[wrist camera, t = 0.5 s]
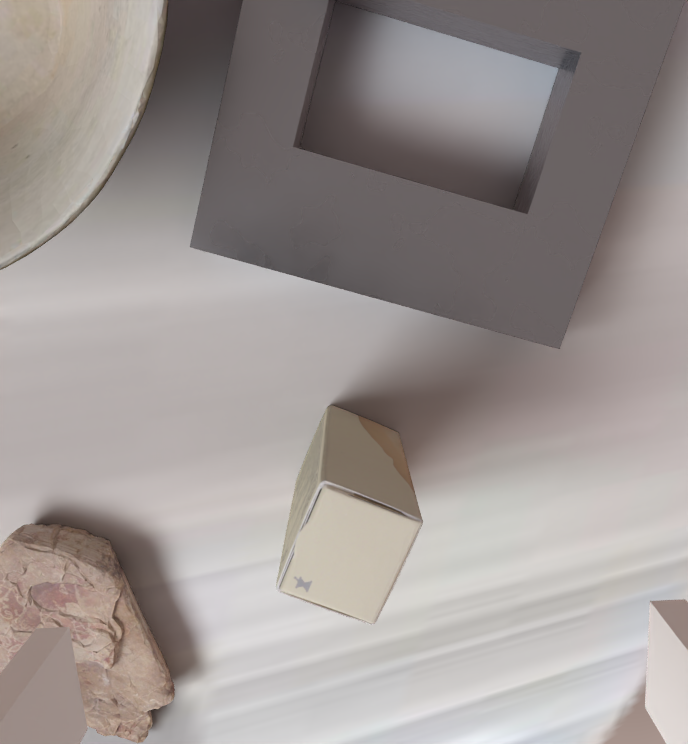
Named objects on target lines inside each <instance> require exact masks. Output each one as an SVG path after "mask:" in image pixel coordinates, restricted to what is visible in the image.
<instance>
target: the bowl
mask: <svg viewBox="0 0 688 744" xmlns="http://www.w3.org/2000/svg"><path fill="white" fill-rule="evenodd" d="M167 16H168V0H0V270H1V269H3V268H6V267H7V266H9V265H11V264H13V263H14V262H16V261H18V260H20V259H22V258H23V257H25V256H27V255H29V254H30V253H32V252H33V251H35V250H36V249H38V248H39V247H41V246H42V245H43V244H45V243H46V242H47V241H49V240H50V239H52V238H53V237H54V236H56V235H57V234H58V233H60V232H61V231H62V230H63V229H64V228H66V227H67V226H68V225H69V224H71V223H72V222H73V221H74V220H75V219H76V218H77V217H78V215H79V214H80V213H81V212H82V211H83V210H84V209H85V208H86V207H87V206H88V205H89V204H90V203H91V202H92V201H93V200H94V198H95V197H96V196H97V195H98V193H99V192H100V191H101V190H102V188H103V187H104V185H105V184H106V182H107V181H108V179H109V178H110V176H111V175H112V173H113V171H114V170H115V168H116V166H117V165H118V163H119V161H120V160H121V158H122V156H123V154H124V152H125V151H126V149H127V147H128V145H129V143H130V141H131V140H132V138H133V136H134V134H135V132H136V130H137V128H138V125H139V123H140V121H141V119H142V116H143V114H144V112H145V109H146V106H147V103H148V100H149V97H150V94H151V91H152V88H153V84H154V80H155V76H156V72H157V68H158V64H159V60H160V57H161V53H162V48H163V43H164V37H165V32H166V27H167Z"/></svg>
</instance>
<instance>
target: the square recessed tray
mask: <svg viewBox="0 0 688 744" xmlns="http://www.w3.org/2000/svg"><path fill="white" fill-rule="evenodd" d="M335 1H338V2H341V3H345V4H348V5H351V6H355V7H358V8H361V9H365V10H368V11H371V12H375V13H378V14H381V15H384V16H388V17H391V18H394V19H398V20H401V21H404V22H408V23H411V24H414V25H418V26H421V27H424V28H428V29H431V30H434V31H437V32H441V33H444V34H447V35H451V36H454V37H457V38H461V39H464V40H467V41H471V42H474V43H477V44H481V45H484V46H487V47H490V48H494V49H497V50H500V51H504V52H507V53H510V54H514V55H517V56H520V57H524V58H527V59H530V60H533V61H537V62H540V63H543V64H547V65H550V66H553V67H557V68H559V70H558V73H557V76H556V79H555V82H554V85H553V88H552V92H551V95H550V98H549V101H548V104H547V107H546V110H545V113H544V116H543V119H542V122H541V125H540V128H539V131H538V135H537V138H536V141H535V144H534V147H533V150H532V153H531V156H530V159H529V162H528V165H527V168H526V171H525V174H524V177H523V181H522V184H521V187H520V190H519V193H518V196H517V199H516V202H515V205H514V208H513V210H511V209H508V208H504V207H501V206H497V205H494V204H490V203H487V202H483V201H480V200H476V199H473V198H469V197H466V196H462V195H459V194H455V193H452V192H448V191H445V190H441V189H438V188H435V187H431V186H428V185H424V184H421V183H417V182H414V181H410V180H407V179H403V178H400V177H396V176H393V175H389V174H386V173H382V172H379V171H375V170H372V169H368V168H365V167H362V166H358V165H355V164H351V163H348V162H344V161H341V160H337V159H334V158H330V157H327V156H323V155H320V154H316V153H313V152H309V151H306V150H302V149H299V147H300V143H301V139H302V135H303V131H304V127H305V123H306V119H307V115H308V111H309V107H310V103H311V98H312V94H313V90H314V86H315V82H316V78H317V74H318V70H319V66H320V62H321V58H322V54H323V50H324V45H325V41H326V37H327V33H328V29H329V25H330V21H331V17H332V13H333V9H334V5H335ZM684 1H685V0H243V2H242V7H241V11H240V16H239V21H238V25H237V30H236V35H235V39H234V44H233V49H232V53H231V58H230V63H229V67H228V72H227V77H226V81H225V86H224V90H223V95H222V100H221V104H220V109H219V114H218V118H217V123H216V128H215V132H214V137H213V142H212V146H211V151H210V156H209V160H208V165H207V170H206V174H205V179H204V184H203V188H202V193H201V197H200V202H199V207H198V211H197V216H196V221H195V225H194V230H193V235H192V239H191V244H190V247H192V248H195V249H199V250H203V251H206V252H210V253H213V254H217V255H221V256H224V257H228V258H232V259H235V260H239V261H242V262H246V263H250V264H253V265H257V266H261V267H264V268H268V269H271V270H275V271H279V272H282V273H286V274H289V275H293V276H297V277H300V278H304V279H308V280H311V281H315V282H318V283H322V284H326V285H329V286H333V287H337V288H340V289H344V290H347V291H351V292H355V293H358V294H362V295H366V296H369V297H373V298H376V299H380V300H384V301H387V302H391V303H395V304H398V305H402V306H405V307H409V308H413V309H416V310H420V311H424V312H427V313H431V314H434V315H438V316H442V317H445V318H449V319H453V320H456V321H460V322H463V323H467V324H471V325H474V326H478V327H482V328H485V329H489V330H492V331H496V332H500V333H503V334H507V335H511V336H514V337H518V338H521V339H525V340H529V341H532V342H536V343H540V344H543V345H547V346H550V347H554V348H558V349H560V346H561V343H562V340H563V338H564V335H565V332H566V329H567V326H568V324H569V321H570V318H571V315H572V312H573V310H574V307H575V304H576V301H577V299H578V296H579V293H580V290H581V287H582V285H583V282H584V279H585V276H586V274H587V271H588V268H589V265H590V262H591V260H592V257H593V254H594V251H595V249H596V246H597V243H598V240H599V237H600V235H601V232H602V229H603V226H604V224H605V221H606V218H607V215H608V212H609V210H610V207H611V204H612V201H613V199H614V196H615V193H616V190H617V187H618V185H619V182H620V179H621V176H622V174H623V171H624V168H625V165H626V162H627V160H628V157H629V154H630V151H631V149H632V146H633V143H634V140H635V137H636V135H637V132H638V129H639V126H640V124H641V121H642V118H643V115H644V112H645V110H646V107H647V104H648V101H649V99H650V96H651V93H652V90H653V87H654V85H655V82H656V79H657V76H658V74H659V71H660V68H661V65H662V62H663V60H664V57H665V54H666V51H667V49H668V46H669V43H670V40H671V37H672V35H673V32H674V29H675V26H676V24H677V21H678V18H679V15H680V12H681V10H682V7H683V4H684Z"/></svg>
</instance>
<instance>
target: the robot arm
mask: <svg viewBox="0 0 688 744" xmlns="http://www.w3.org/2000/svg"><path fill="white" fill-rule="evenodd" d="M645 708H646V710H647V712H648V713H649V715H650V717H651V718H652V720H653V722H654V723H655V725H656V727H657V729H658V730H659V732H660V734H661V735H662V737H663V739H664V741H665V742H666V744H688V602H687V601H686V600H663V601H650V610H649V632H648V654H647V676H646V698H645ZM87 729H88V728H87V722H86V717H85V711H84V706H83V700H82V695H81V689H80V684H79V678H78V673H77V668H76V662H75V657H74V651H73V646H72V640H71V635H70V629H69V627H57V628H36V630H35V631H34V632H33V633H32V635H31V636H30V637H29V638H28V640H27V641H26V642H25V643H24V645H23V646H22V647H21V648H20V650H19V651H18V652H17V653H16V655H15V656H14V657H13V658H12V660H11V661H10V662H9V663H8V665H7V666H6V667H5V668H4V670H3V671H2V672H1V673H0V744H80V742H81V740H82V739H83V737H84V735H85V733H86V731H87Z"/></svg>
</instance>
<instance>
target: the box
mask: <svg viewBox="0 0 688 744" xmlns="http://www.w3.org/2000/svg"><path fill="white" fill-rule="evenodd" d="M422 523H423V520H422V517H421V514H420V510H419V506H418V502H417V499H416V495H415V491H414V488H413V484H412V480H411V476H410V472H409V469H408V465H407V461H406V457H405V454H404V450H403V447H402V443H401V439H400V435H399V433H398V432H396V431H394V430H392V429H389V428H387V427H385V426H383V425H380V424H378V423H376V422H373V421H371V420H368V419H366V418H364V417H361V416H359V415H356V414H354V413H351V412H349V411H346V410H343V409H341V408H338V407H335V406H333V405H330V406H328V407H327V409H326V411H325V413H324V415H323V417H322V419H321V421H320V424H319V426H318V428H317V430H316V433H315V435H314V437H313V440H312V442H311V445H310V447H309V450H308V452H307V455H306V457H305V460H304V462H303V465H302V467H301V470H300V473H299V475H298V478H297V480H296V484H295V490H294V495H293V500H292V505H291V510H290V515H289V520H288V525H287V530H286V535H285V540H284V545H283V551H282V556H281V562H280V567H279V573H278V578H277V584H276V590H277V591H278V592H280V593H283V594H286V595H288V596H291V597H294V598H297V599H299V600H302V601H304V602H307V603H310V604H312V605H315V606H318V607H321V608H324V609H326V610H329V611H332V612H335V613H338V614H341V615H343V616H346V617H350V618H353V619H356V620H359V621H362V622H364V623H367V624H375V622H376V621H377V619H378V617H379V615H380V613H381V611H382V609H383V607H384V605H385V603H386V601H387V599H388V597H389V595H390V593H391V591H392V589H393V587H394V585H395V583H396V581H397V579H398V577H399V575H400V572H401V570H402V568H403V566H404V564H405V562H406V559H407V557H408V555H409V553H410V551H411V549H412V546H413V544H414V542H415V540H416V537H417V535H418V533H419V530H420V528H421V526H422Z"/></svg>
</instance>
